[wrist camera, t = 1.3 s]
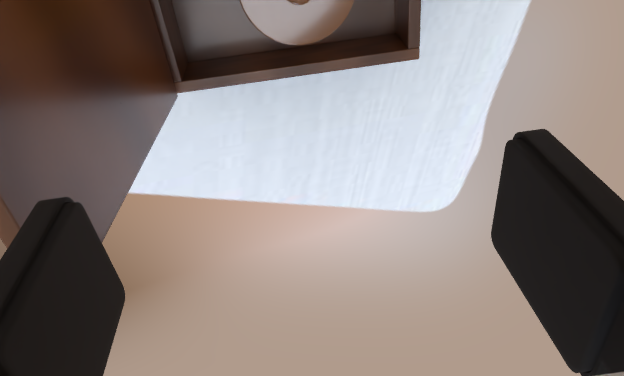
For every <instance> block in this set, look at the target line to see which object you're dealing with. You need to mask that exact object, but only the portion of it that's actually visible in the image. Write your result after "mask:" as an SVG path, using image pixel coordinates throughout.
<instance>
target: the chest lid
mask: <svg viewBox="0 0 624 376" xmlns="http://www.w3.org/2000/svg"><path fill="white" fill-rule="evenodd" d="M177 97H178V95H177V92H176V89H175V85H174V82H173V79H172V75H171V72H170V69H169V65H168V62H167V59H166V55H165V52H164V49H163V46H162V42H161V39H160V36H159V32H158V29H157V26H156V22H155V19H154V16H153V12H152V9H151V6H150V2H149V0H0V239H1V240H2V242H3V243H4V244H5V246H6V247H7V249H8V247H9V246H10V244H11V242H12V241H13V239H14V238H15V236H16V235H17V233H18V231H19V230H20V228H21V227H22V225H23V224H24V222H25V220H26V219H27V217H28V216H29V214H30V212H31V211H32V209H33V208H34V206H35V205H36V203H37V202H38V201H41V200H47V199H54V198H61V197H70V198H71V199H72V200H73V201H74V202H80V203H81V204H82V205H83V207H84V209H85V211H86V213H87V215H88V217H89V219H90V221H91V223H92V225H93V227H94V229H95V231H96V233H97V235H98V237H99V239H100V241H101V243H102V242H103V239H104V238H105V236H106V234H107V232H108V230H109V228H110V226H111V224H112V222H113V220H114V219H115V217H116V214H117V212H118V211H119V209H120V207H121V205H122V203H123V201H124V199H125V197H126V195H127V193H128V191H129V190H130V188H131V186H132V184H133V182H134V180H135V178H136V176H137V174H138V172H139V170H140V168H141V166H142V164H143V163H144V161H145V159H146V157H147V155H148V153H149V151H150V149H151V147H152V145H153V143H154V141H155V139H156V137H157V136H158V134H159V132H160V130H161V128H162V126H163V124H164V122H165V120H166V118H167V116H168V114H169V112H170V110H171V109H172V107H173V105H174V103H175V101H176V99H177Z"/></svg>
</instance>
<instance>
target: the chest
mask: <svg viewBox="0 0 624 376" xmlns="http://www.w3.org/2000/svg"><path fill="white" fill-rule="evenodd" d="M149 2H150V6H151V9H152V12H153V16H154V19H155V22H156V26H157V29H158V32H159V36H160V39H161V42H162V46H163V49H164V52H165V55H166V59H167V62H168V65H169V69H170V72H171V75H172V79H173V82H174V85H175V89H176V92H177V93H183V92H190V91H197V90H204V89H211V88H218V87H225V86H232V85H239V84H246V83H253V82H260V81H267V80H274V79H281V78H288V77H295V76H302V75H309V74H316V73H323V72H330V71H337V70H344V69H351V68H358V67H365V66H372V65H379V64H386V63H393V62H400V61H407V60H414V59H419V46H420V13H421V0H354V3H353V5H352V8H351V10H350V12H349V14H348V16H347V17H346V19H345V20H344V22H343V23H342V24H341V25H340V26H339V27H338V28H337V29H336V30H335V31H334V32H333V33H331V34H330V35H328V36H327V37H325V38H323V39H321V40H319V41H317V42H314V43H310V44H306V45H288V44H283V43H280V42H277V41H274V40H272V39H270V38H268V37H267V36H265V35H264V34H262V33H261V32H260V31H259V30H257V29H256V28H255V26H254V25H253V24H252V23H251V22H250V20H249V19H248V18H247V16H246V14H245V12H244V11H243V8H242V6H241V3H240V0H149Z"/></svg>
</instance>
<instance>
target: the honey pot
mask: <svg viewBox="0 0 624 376" xmlns="http://www.w3.org/2000/svg"><path fill="white" fill-rule="evenodd" d="M240 3H241V6H242V8H243V11H244V12H245V14H246V16H247V18H248V19H249V20H250V22H251V23H252V24H253V25H254V26H255V28H256V29H257V30H259V31H260V32H261V33H262V34H264V35H265V36H267V37H268V38H270V39H272V40H274V41H277V42H280V43H283V44H288V45H306V44H310V43H314V42H317V41H319V40H321V39H323V38H325V37H327V36H328V35H330V34H331V33H333V32H334V31H335V30H336V29H337V28H338V27H339V26H340V25H341V24H342V23H343V22H344V20H345V19H346V17H347V16H348V14H349V12H350V10H351V8H352V5H353V3H354V0H240Z"/></svg>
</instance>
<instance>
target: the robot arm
mask: <svg viewBox="0 0 624 376" xmlns="http://www.w3.org/2000/svg"><path fill="white" fill-rule="evenodd" d="M491 237H492V242H493V245H494V247H495V249H496V251H497V252H498V254H499V255H500V257H501V259H502V260H503V262H504V263H505V265H506V267H507V268H508V270H509V272H510V273H511V275H512V276H513V278H514V280H515V281H516V283H517V285H518V286H519V288H520V289H521V291H522V293H523V294H524V296H525V298H526V299H527V301H528V302H529V304H530V306H531V307H532V309H533V310H534V312H535V314H536V315H537V317H538V318H539V320H540V322H541V323H542V325H543V327H544V328H545V330H546V331H547V333H548V335H549V336H550V338H551V339H552V341H553V343H554V344H555V346H556V347H557V349H558V351H559V352H560V354H561V356H562V357H563V359H564V361H565V362H566V364H567V365H568V367H569V368H570V369H571V370H572V371H573V372H575V373H580V374H581V375H582V376H624V201H623V200H622V199H621V198H620V197H619V196H618V195H617V194H616V193H615V192H613V191H612V190H611V189H610V188H609V187H608V186H607V185H606V184H605V183H604V182H603V181H602V180H600V179H599V178H598V177H597V176H596V175H595V174H594V173H593V172H592V171H591V170H589V168H588V167H586V166H585V165H584V164H583V163H582V162H581V161H580V160H579V159H578V158H577V157H575V155H573V154H572V153H571V152H570V151H569V150H568V149H567V148H566V147H565V146H564V145H563V144H562V143H560V142H559V141H558V140H557V139H556V138H555V137H554V136H553V135H552V134H551V133H549V131H547V130H545V129H539V130H532V131H525V132H518V133H516V134H515V136H514V137H513V140H509V141H508V142H507V143H506V146H505V152H504V158H503V164H502V170H501V176H500V182H499V188H498V194H497V200H496V207H495V213H494V219H493V225H492V231H491ZM124 301H125V291H124V287H123V285H122V283H121V281H120V279H119V277H118V275H117V273H116V271H115V269H114V267H113V265H112V263H111V261H110V259H109V257H108V255H107V253H106V251H105V249H104V247H103V245H102V243H101V241H100V239H99V237H98V235H97V233H96V231H95V229H94V227H93V225H92V223H91V221H90V219H89V217H88V215H87V213H86V211H85V209H84V207H83V205H82V204H81V203H80V202H74V201H73V200H72V199H71V198H70V197H61V198H54V199H47V200H41V201H38V202H37V203H36V205H35V206H34V208H33V209H32V211H31V212H30V214H29V216H28V217H27V219H26V220H25V222H24V224H23V225H22V227H21V228H20V230H19V231H18V233H17V235H16V236H15V238H14V239H13V241H12V242H11V244H10V246H9V247H8V249H7V250H6V252H5V253H4V255H3V257H2V258H1V260H0V376H103V374H104V370H105V367H106V363H107V359H108V357H109V353H110V349H111V346H112V343H113V340H114V336H115V333H116V329H117V326H118V323H119V319H120V316H121V312H122V309H123V306H124Z"/></svg>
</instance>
